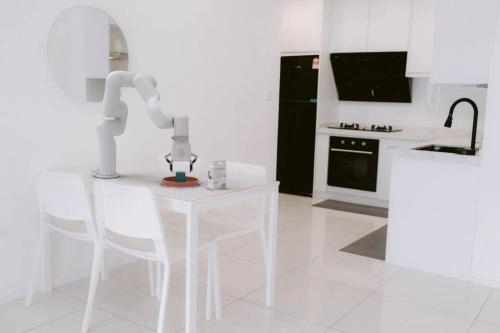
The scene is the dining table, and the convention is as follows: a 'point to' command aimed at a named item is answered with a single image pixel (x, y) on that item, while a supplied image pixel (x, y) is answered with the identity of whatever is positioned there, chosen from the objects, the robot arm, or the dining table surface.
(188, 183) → the bowl
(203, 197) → the dining table surface
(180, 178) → the block
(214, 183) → the ink box
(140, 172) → the dining table surface
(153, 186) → the dining table surface
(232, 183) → the dining table surface
